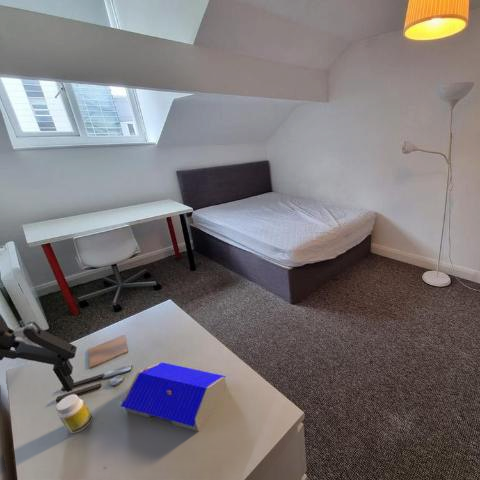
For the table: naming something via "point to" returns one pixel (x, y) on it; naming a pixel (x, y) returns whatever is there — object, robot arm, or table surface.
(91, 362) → the cork coaster
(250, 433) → the table surface
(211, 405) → the roof
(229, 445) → the table surface
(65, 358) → the robot arm
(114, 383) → the cutlery
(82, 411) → the supplement bottle
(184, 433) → the table surface
